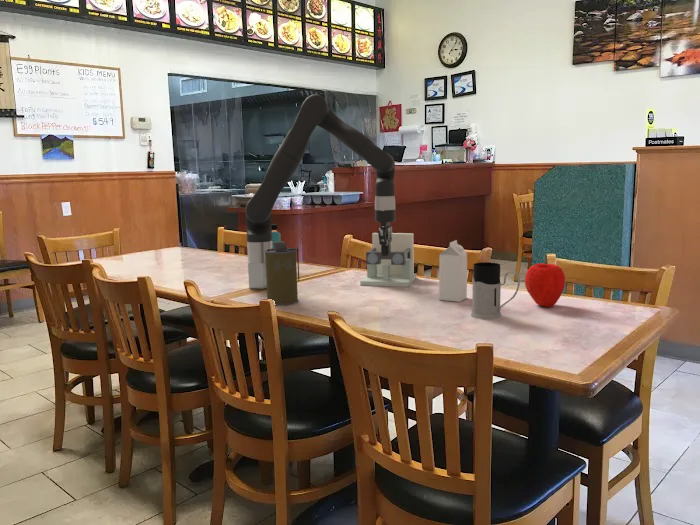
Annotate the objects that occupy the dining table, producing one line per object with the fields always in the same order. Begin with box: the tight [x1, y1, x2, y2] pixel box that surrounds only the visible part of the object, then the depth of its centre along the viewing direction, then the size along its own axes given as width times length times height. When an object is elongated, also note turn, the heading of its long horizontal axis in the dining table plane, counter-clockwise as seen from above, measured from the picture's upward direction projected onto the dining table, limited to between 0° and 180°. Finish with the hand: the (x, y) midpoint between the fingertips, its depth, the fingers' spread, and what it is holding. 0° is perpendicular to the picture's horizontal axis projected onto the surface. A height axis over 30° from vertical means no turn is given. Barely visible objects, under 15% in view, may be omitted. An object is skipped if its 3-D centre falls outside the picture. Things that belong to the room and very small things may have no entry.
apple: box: [524, 262, 566, 308], centre depth 174 cm, size 12×12×13 cm
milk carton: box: [438, 239, 468, 303], centre depth 185 cm, size 7×7×19 cm
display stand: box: [359, 232, 417, 288], centre depth 216 cm, size 18×18×18 cm
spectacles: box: [365, 242, 410, 265], centre depth 216 cm, size 12×14×8 cm
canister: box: [264, 240, 300, 307], centre depth 187 cm, size 11×10×20 cm
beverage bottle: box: [271, 223, 282, 248], centre depth 248 cm, size 6×7×20 cm
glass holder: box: [470, 261, 521, 320], centre depth 162 cm, size 9×14×15 cm, turn 51°
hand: (385, 254), depth 211 cm, fingers closed on spectacles, 3 cm apart
